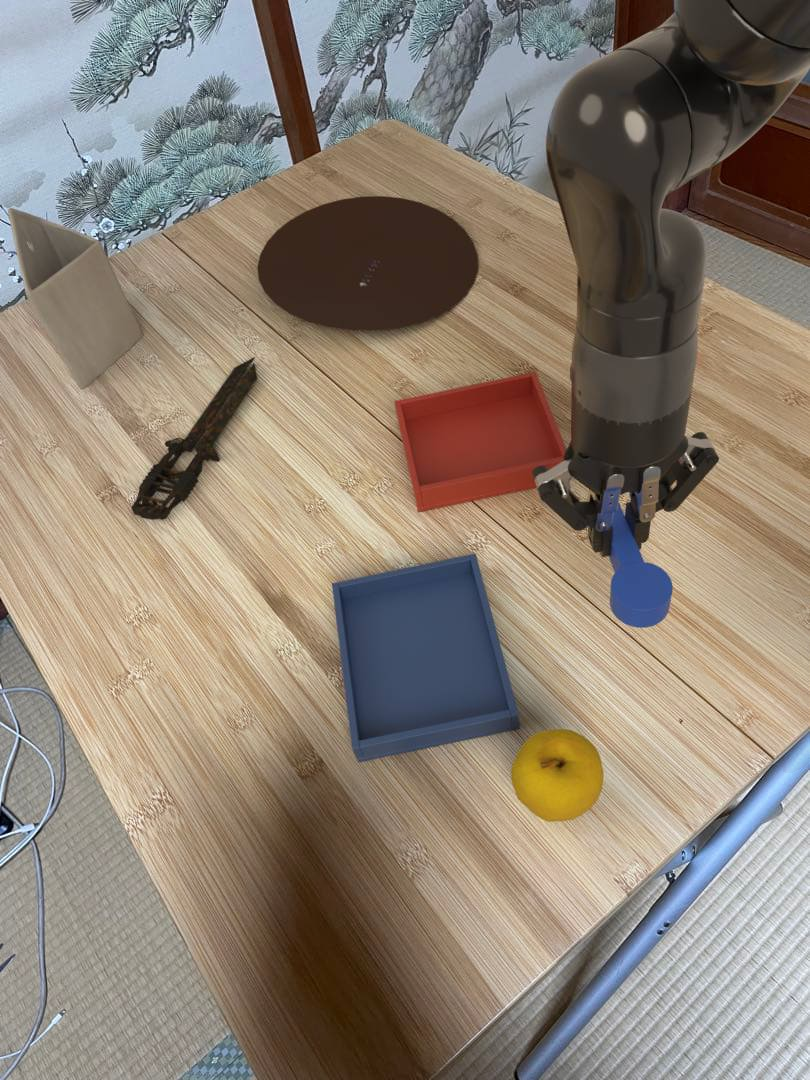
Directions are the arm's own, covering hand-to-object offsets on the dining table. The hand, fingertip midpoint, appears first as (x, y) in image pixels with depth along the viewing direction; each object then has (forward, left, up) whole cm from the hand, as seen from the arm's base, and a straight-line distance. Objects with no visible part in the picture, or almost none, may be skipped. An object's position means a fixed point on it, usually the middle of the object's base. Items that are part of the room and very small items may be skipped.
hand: (617, 544), depth 66 cm
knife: (+36, -32, -8) cm, 49 cm away
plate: (+14, -56, -8) cm, 58 cm away
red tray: (+7, -21, -8) cm, 24 cm away
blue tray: (+17, +2, -8) cm, 19 cm away
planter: (+48, -53, -8) cm, 72 cm away
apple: (+9, +16, -8) cm, 20 cm away
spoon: (0, +2, 0) cm, 2 cm away
